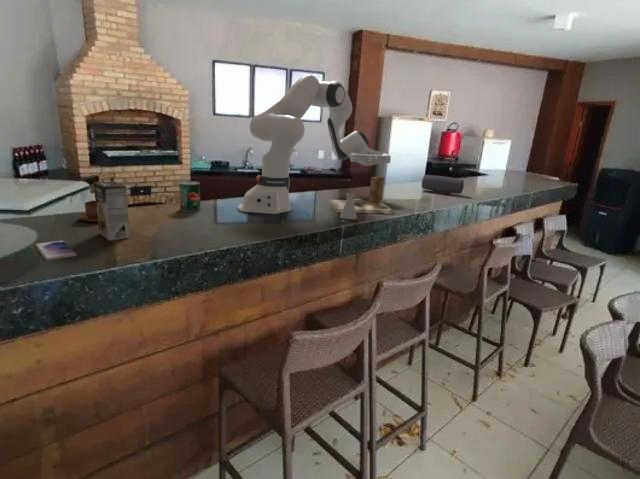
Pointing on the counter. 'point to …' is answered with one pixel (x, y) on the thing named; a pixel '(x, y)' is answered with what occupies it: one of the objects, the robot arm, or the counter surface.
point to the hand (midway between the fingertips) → (373, 159)
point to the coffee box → (112, 210)
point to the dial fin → (373, 192)
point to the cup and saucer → (89, 212)
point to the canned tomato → (189, 196)
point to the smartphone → (55, 250)
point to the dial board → (363, 207)
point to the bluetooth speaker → (442, 184)
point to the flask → (349, 208)
